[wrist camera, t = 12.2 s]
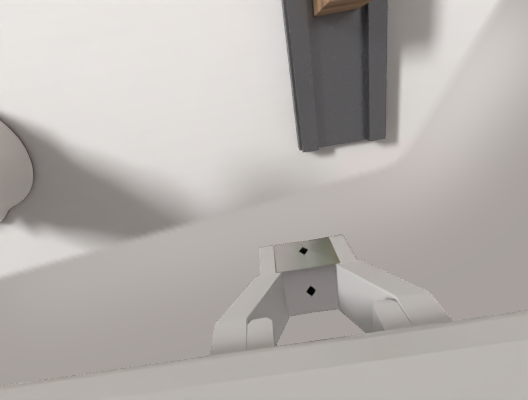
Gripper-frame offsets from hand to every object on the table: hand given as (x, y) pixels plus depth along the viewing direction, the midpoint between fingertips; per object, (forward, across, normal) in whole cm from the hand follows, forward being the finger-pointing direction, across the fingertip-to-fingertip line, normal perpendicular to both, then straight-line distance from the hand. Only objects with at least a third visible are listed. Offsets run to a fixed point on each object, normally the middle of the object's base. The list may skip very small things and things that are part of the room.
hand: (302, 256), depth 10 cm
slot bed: (+29, -9, -7) cm, 31 cm away
